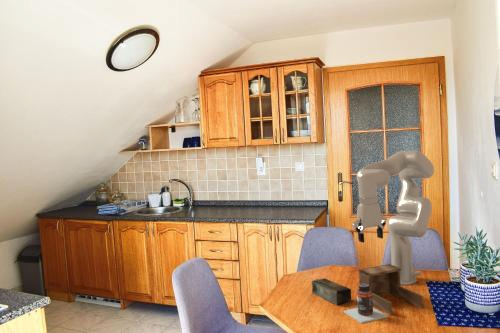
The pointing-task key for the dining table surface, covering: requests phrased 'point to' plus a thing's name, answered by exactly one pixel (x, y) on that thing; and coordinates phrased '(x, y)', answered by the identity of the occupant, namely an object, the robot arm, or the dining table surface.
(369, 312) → the supplement bottle
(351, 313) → the tile
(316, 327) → the dining table surface
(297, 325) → the dining table surface
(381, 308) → the brown boxy piece
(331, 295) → the beverage carton
